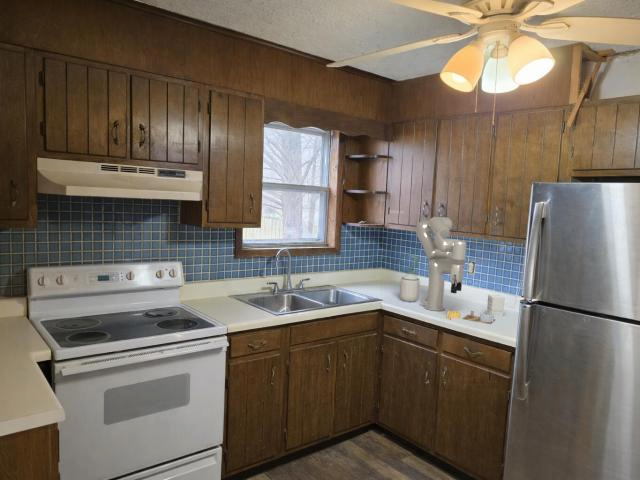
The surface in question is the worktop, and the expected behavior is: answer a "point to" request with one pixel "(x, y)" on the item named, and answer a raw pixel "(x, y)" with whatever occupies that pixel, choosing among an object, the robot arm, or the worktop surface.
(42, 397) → the worktop surface
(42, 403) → the worktop surface
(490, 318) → the slate gear
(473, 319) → the gear board
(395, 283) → the worktop surface
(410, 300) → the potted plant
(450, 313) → the ochre gear
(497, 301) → the supplement box
